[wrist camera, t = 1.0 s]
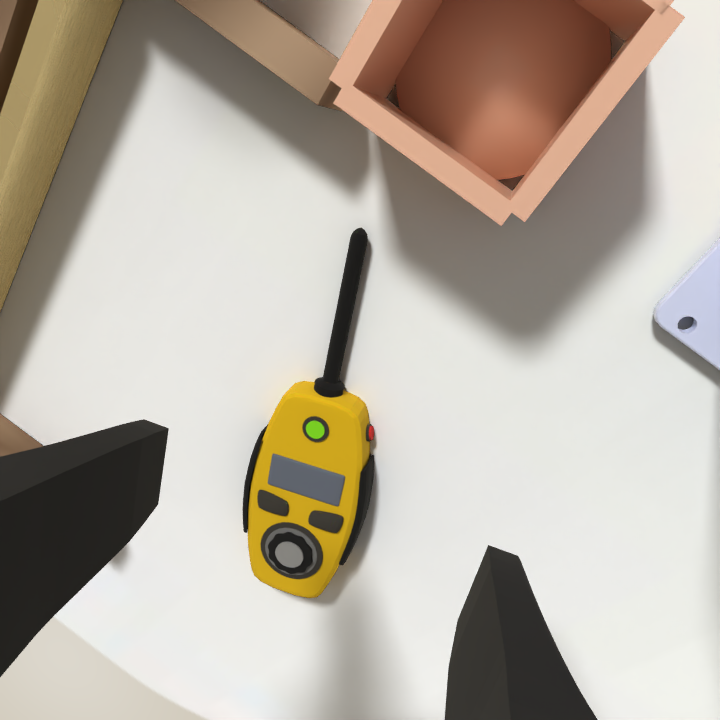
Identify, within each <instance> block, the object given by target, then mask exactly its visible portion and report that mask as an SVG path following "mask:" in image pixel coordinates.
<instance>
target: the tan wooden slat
mask: <svg viewBox="0 0 720 720" xmlns="http://www.w3.org/2000/svg"><path fill="white" fill-rule="evenodd" d="M122 1H123V0H39V1H38V4H37V7H36V10H35V12H34V15H33V18H32V21H31V24H30V27H29V30H28V33H27V36H26V39H25V42H24V45H23V48H22V51H21V54H20V57H19V60H18V63H17V66H16V69H15V72H14V75H13V78H12V81H11V84H10V87H9V90H8V93H7V96H6V99H5V102H4V105H3V108H2V111H1V114H0V311H1V309H2V306H3V304H4V301H5V299H6V296H7V294H8V291H9V288H10V286H11V283H12V281H13V278H14V276H15V273H16V271H17V268H18V266H19V263H20V260H21V258H22V255H23V253H24V250H25V248H26V245H27V243H28V240H29V238H30V235H31V233H32V230H33V227H34V225H35V222H36V220H37V217H38V215H39V212H40V210H41V207H42V205H43V202H44V200H45V197H46V194H47V192H48V189H49V187H50V184H51V182H52V179H53V177H54V174H55V172H56V169H57V166H58V164H59V161H60V159H61V156H62V154H63V151H64V149H65V146H66V144H67V141H68V139H69V136H70V133H71V131H72V128H73V126H74V123H75V121H76V118H77V116H78V113H79V111H80V108H81V106H82V103H83V100H84V98H85V95H86V93H87V90H88V88H89V85H90V83H91V80H92V78H93V75H94V73H95V70H96V67H97V65H98V62H99V60H100V57H101V55H102V52H103V50H104V47H105V45H106V42H107V39H108V37H109V34H110V32H111V29H112V27H113V24H114V22H115V19H116V17H117V14H118V12H119V9H120V6H121V4H122Z"/></svg>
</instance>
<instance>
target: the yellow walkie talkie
mask: <svg viewBox="0 0 720 720" xmlns="http://www.w3.org/2000/svg"><path fill="white" fill-rule="evenodd" d="M367 241H368V239H367V233H366V232H365V230H364V229H362V228H358V229H356V230H355V231H354V232H353V233H352V235H351V238H350V243H349V248H348V253H347V258H346V263H345V268H344V273H343V279H342V284H341V289H340V294H339V299H338V304H337V309H336V314H335V319H334V324H333V329H332V334H331V339H330V345H329V350H328V355H327V360H326V365H325V370H324V375H323V377H321V378H317V379H316V380H315V382H307V381H302V382H298V383H295V384H294V385H293V386H292V387H291V388H290V389H289V390H288V391H287V392H286V393H285V394H284V395H283V397H282V399H281V400H280V402H279V404H278V406H277V408H276V409H275V411H274V413H273V416H272V418H271V420H270V422H269V424H268V425H267V426H266V427H265V428H264V429H263V430H262V431H261V433H260V435H259V437H258V440H257V442H256V444H255V447H254V450H253V453H252V455H251V459H250V463H249V467H248V471H247V475H246V480H245V485H244V497H243V528H244V532H246V533H247V529H248V548H249V555H250V562H251V567H252V571H253V573H254V576H256V577H257V578H258V579H259V580H260V581H261V582H263V583H265V584H267V585H269V586H271V587H273V588H276V589H278V590H281V591H284V592H287V593H290V594H293V595H296V596H301V597H306V598H315V597H318V596H319V595H320V594H321V593H322V592H323V590H324V589H325V588H326V586H327V585H328V583H329V582H330V580H331V579H332V577H333V576H334V574H335V572H336V570H337V568H338V567H339V565H344V563H345V562H346V560H347V558H348V557H349V555H350V553H351V551H352V549H353V547H354V544H355V542H356V540H357V538H358V535H359V533H360V530H361V527H362V524H363V522H364V519H365V516H366V513H367V509H368V506H369V501H370V495H371V489H372V482H373V470H374V455H371V457H370V459H369V456H370V441H371V440H373V437H374V428H373V426H372V425H371V424H369V416H368V410H367V407H366V404H365V403H364V402H363V401H362V400H361V399H360V398H359V397H357V396H355V395H353V394H351V393H349V392H347V391H345V390H344V384H343V383H342V382H340V381H339V375H340V371H341V366H342V361H343V356H344V351H345V346H346V342H347V337H348V332H349V327H350V322H351V318H352V313H353V308H354V303H355V298H356V294H357V289H358V284H359V279H360V274H361V270H362V265H363V260H364V255H365V250H366V246H367Z"/></svg>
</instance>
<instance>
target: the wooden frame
mask: <svg viewBox="0 0 720 720" xmlns="http://www.w3.org/2000/svg"><path fill="white" fill-rule="evenodd" d="M38 1H39V0H0V114H1V111H2V108H3V105H4V102H5V99H6V96H7V93H8V90H9V87H10V84H11V81H12V78H13V75H14V72H15V69H16V66H17V63H18V60H19V57H20V54H21V51H22V48H23V45H24V42H25V39H26V36H27V33H28V30H29V27H30V24H31V21H32V18H33V15H34V12H35V10H36V7H37V4H38ZM175 1H176V2H178V3H179V4H181V5H182V6H183V7H185V8H186V9H187V10H189V11H190V12H191V13H193V14H194V15H196V16H197V17H198V18H200V19H201V20H202V21H204V22H205V23H206V24H208V25H209V26H210V27H212V28H213V29H215V30H216V31H217V32H219V33H220V34H221V35H223V36H224V37H225V38H227V39H228V40H230V41H231V42H232V43H234V44H235V45H236V46H238V47H239V48H240V49H242V50H243V51H244V52H246V53H247V54H249V55H250V56H251V57H253V58H254V59H255V60H257V61H258V62H259V63H261V64H262V65H264V66H265V67H266V68H268V69H269V70H270V71H272V72H273V73H274V74H276V75H277V76H278V77H280V78H281V79H283V80H284V81H285V82H287V83H288V84H289V85H291V86H292V87H293V88H295V89H296V90H297V91H299V92H300V93H302V94H303V95H304V96H306V97H307V98H308V99H310V100H311V101H312V102H314V103H315V104H317V105H319V106H323V107H327V108H331V109H335V110H339V111H342V109H341V108H339V107H338V106H336V105H335V104H334V101H335V99H336V98H337V96H338V94H339V92H340V91H341V89H342V88H340V87H339V86H338V85H336V84H335V83H334V82H332V81H331V80H330V79H329V77H330V76H331V74H332V72H333V70H334V69H335V67H336V65H337V63H338V61H339V60H340V59H338V58H337V57H336V56H334V55H333V54H331V53H330V52H329V51H327V50H326V49H325V48H323V47H322V46H321V45H319V44H318V43H316V42H315V41H314V40H312V39H311V38H310V37H308V36H307V35H306V34H304V33H303V32H302V31H300V30H299V29H297V28H296V27H295V26H293V25H292V24H291V23H289V22H288V21H287V20H285V19H284V18H282V17H281V16H280V15H278V14H277V13H276V12H274V11H273V10H272V9H270V8H269V7H267V6H266V5H265V4H263V3H262V2H261V1H259V0H175ZM42 446H43V445H41V444H40V443H39V442H37V441H36V440H35V439H33V438H32V437H31V436H29V435H28V434H27V433H25V432H24V431H23V430H21V429H20V428H19V427H17V426H16V425H14V424H13V423H12V422H10V421H9V420H8V419H6V418H5V417H4V416H2V415H1V414H0V457H1V456H5V455H9V454H13V453H18V452H22V451H26V450H30V449H34V448H38V447H42Z"/></svg>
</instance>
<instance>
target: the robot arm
mask: <svg viewBox="0 0 720 720" xmlns="http://www.w3.org/2000/svg"><path fill="white" fill-rule="evenodd" d="M653 315H654V319H655V321H656V322H657V323H658V324H659V325H660V327H661V328H663V329H664V330H666V331H667V332H668V333H670V334H671V335H672V336H674V337H675V338H676V339H678V340H679V341H681V342H682V343H683V344H685V345H686V346H687V347H689V348H690V349H691V350H693V351H694V352H695V353H697V354H698V355H700V356H701V357H702V358H704V359H705V360H706V361H708V362H709V363H710V364H712V365H713V366H715V367H716V368H717V369H719V370H720V238H719V239H718V240H717V241H716V242H715V243H714V244H713V245H712V246H711V247H710V248H709V249H708V250H707V251H706V252H705V253H704V255H703V256H702V257H701V258H700V259H699V260H698V261H697V262H696V263H695V264H694V265H693V266H692V267H691V268H690V269H689V270H688V271H687V272H686V273H685V274H684V276H683V277H682V278H681V279H680V280H679V281H678V282H677V283H676V284H675V285H674V286H673V287H672V288H671V289H670V290H669V291H668V292H667V293H666V294H665V295H664V297H663V298H662V299H661V300H660V301H659V302H658V303H657V305H656V306H655V308H654V312H653ZM687 316H690V317H693V324H692V326H691V327H690V328H688V329H685V330H681V329H678V322H679V320H680V319H682V318H683V317H687ZM168 429H169V428H166V427H163V426H160V425H158V424H155V423H152V422H149V421H147V420H139V421H134V422H130V423H126V424H122V425H119V426H115V427H111V428H108V429H104V430H101V431H97V432H94V433H90V434H87V435H83V436H80V437H76V438H73V439H69V440H65V441H62V442H58V443H55V444H51V445H47V446H42V447H38V448H34V449H30V450H26V451H22V452H18V453H13V454H9V455H5V456H1V457H0V677H1V676H2V674H3V673H4V672H5V671H6V670H7V668H8V667H9V666H10V665H11V664H12V663H13V661H14V660H15V659H16V658H17V657H18V655H19V654H20V653H21V652H22V651H23V649H24V648H25V647H26V646H27V645H28V643H29V642H30V641H31V640H32V639H33V637H34V636H35V635H36V634H37V633H38V632H39V631H40V630H41V629H42V628H43V627H44V626H45V624H46V623H47V622H48V621H49V620H50V619H51V618H52V617H53V616H54V615H55V614H56V613H57V612H58V611H59V610H60V609H61V608H62V607H63V606H64V605H65V604H66V603H67V602H68V601H69V600H70V599H71V598H72V597H74V596H75V595H76V594H77V593H78V592H79V591H80V590H81V589H82V588H83V587H84V586H85V585H86V584H87V583H88V582H89V581H90V580H91V579H92V578H93V577H94V576H95V575H96V574H97V573H98V572H99V571H100V570H101V569H102V568H103V567H104V566H105V565H106V564H107V563H108V562H109V561H110V560H111V559H112V558H113V557H114V556H115V555H116V554H117V553H118V552H119V551H120V550H121V549H122V548H123V547H124V546H125V545H126V544H127V543H128V542H129V541H130V540H131V539H132V537H133V536H134V535H135V534H136V533H137V531H138V530H139V529H140V528H141V526H142V525H143V524H144V522H145V521H146V520H147V518H148V517H149V516H150V514H151V513H152V512H153V510H154V509H155V508H156V506H157V505H158V501H159V494H160V487H161V479H162V472H163V465H164V458H165V451H166V444H167V437H168ZM445 720H597V718H596V716H595V715H594V713H593V712H592V710H591V709H590V707H589V705H588V704H587V702H586V700H585V699H584V697H583V695H582V694H581V692H580V690H579V688H578V687H577V685H576V683H575V681H574V679H573V677H572V675H571V674H570V672H569V670H568V668H567V666H566V664H565V662H564V660H563V658H562V656H561V654H560V652H559V650H558V648H557V646H556V644H555V642H554V639H553V637H552V635H551V633H550V631H549V629H548V626H547V624H546V622H545V620H544V618H543V615H542V613H541V611H540V608H539V606H538V603H537V601H536V599H535V596H534V594H533V591H532V589H531V586H530V584H529V581H528V579H527V576H526V573H525V571H524V568H523V566H522V563H521V561H520V559H519V557H518V556H516V555H514V554H511V553H508V552H506V551H503V550H500V549H497V548H495V547H492V546H489V545H488V547H487V550H486V552H485V555H484V557H483V560H482V562H481V565H480V567H479V570H478V572H477V574H476V577H475V579H474V582H473V584H472V587H471V589H470V592H469V594H468V596H467V599H466V601H465V604H464V606H463V609H462V611H461V614H460V616H459V618H458V622H457V627H456V632H455V637H454V642H453V647H452V652H451V658H450V663H449V670H448V683H447V696H446V710H445Z"/></svg>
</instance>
